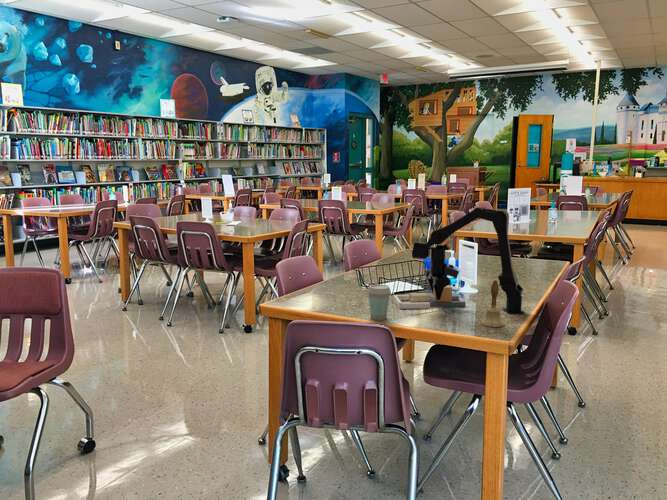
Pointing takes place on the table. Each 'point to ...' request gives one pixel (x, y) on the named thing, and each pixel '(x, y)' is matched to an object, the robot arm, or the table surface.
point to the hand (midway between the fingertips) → (436, 297)
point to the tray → (408, 305)
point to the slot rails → (449, 303)
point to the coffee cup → (378, 301)
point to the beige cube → (425, 297)
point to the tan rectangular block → (443, 295)
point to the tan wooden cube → (414, 298)
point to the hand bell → (493, 310)
